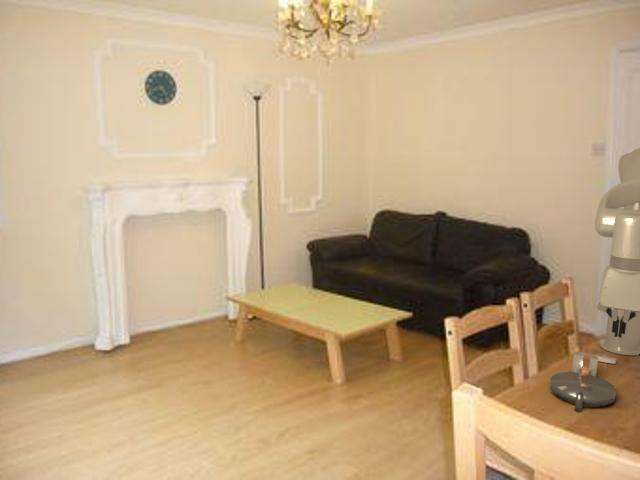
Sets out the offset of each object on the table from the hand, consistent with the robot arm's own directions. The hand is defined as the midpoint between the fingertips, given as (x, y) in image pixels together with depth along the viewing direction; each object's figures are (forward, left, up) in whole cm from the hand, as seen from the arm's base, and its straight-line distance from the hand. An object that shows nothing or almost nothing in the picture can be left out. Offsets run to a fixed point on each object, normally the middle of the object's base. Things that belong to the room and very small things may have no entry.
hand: (617, 335), depth 146 cm
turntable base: (+5, -6, -16) cm, 18 cm away
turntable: (+5, -6, -14) cm, 17 cm away
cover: (-8, -7, -16) cm, 19 cm away
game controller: (-21, -2, -16) cm, 26 cm away
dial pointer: (+14, -6, -16) cm, 22 cm away
